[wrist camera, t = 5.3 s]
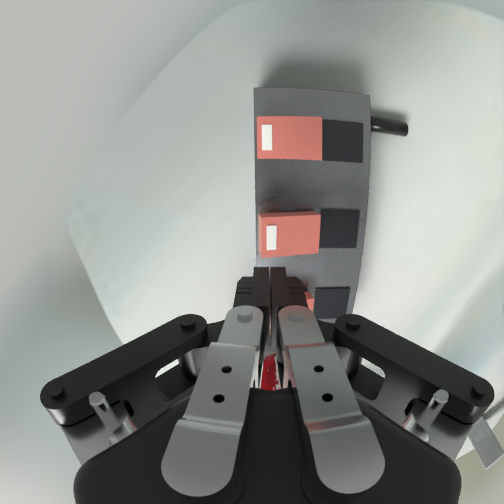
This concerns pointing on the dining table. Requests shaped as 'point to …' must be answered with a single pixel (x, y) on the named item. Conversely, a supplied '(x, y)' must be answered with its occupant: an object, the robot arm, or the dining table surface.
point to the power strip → (322, 189)
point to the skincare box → (485, 443)
